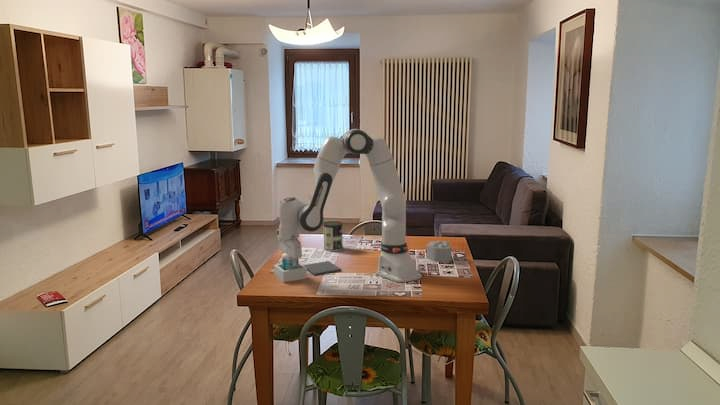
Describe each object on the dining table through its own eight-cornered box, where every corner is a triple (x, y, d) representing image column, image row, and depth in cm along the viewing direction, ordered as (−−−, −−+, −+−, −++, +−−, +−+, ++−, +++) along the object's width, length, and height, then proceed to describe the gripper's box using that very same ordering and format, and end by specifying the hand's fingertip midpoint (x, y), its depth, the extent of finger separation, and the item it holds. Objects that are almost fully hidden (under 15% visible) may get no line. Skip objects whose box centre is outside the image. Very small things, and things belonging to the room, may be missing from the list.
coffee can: (343, 246, 304) (342, 221, 301) (342, 251, 294) (342, 225, 291) (324, 246, 304) (323, 221, 302) (322, 251, 294) (322, 225, 291)
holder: (307, 278, 253) (306, 267, 252) (283, 282, 248) (283, 271, 247) (297, 271, 263) (297, 261, 262) (274, 275, 257) (274, 264, 256)
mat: (341, 270, 263) (341, 268, 263) (314, 275, 257) (314, 273, 256) (328, 262, 275) (328, 260, 275) (302, 267, 269) (302, 265, 268)
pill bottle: (285, 280, 250) (284, 251, 248) (280, 275, 257) (279, 247, 254) (301, 277, 254) (300, 249, 251) (295, 273, 260) (294, 245, 257)
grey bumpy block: (440, 254, 289) (440, 238, 287) (456, 260, 278) (457, 243, 276) (424, 257, 284) (424, 240, 282) (440, 263, 273) (440, 246, 271)
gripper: (304, 237, 244) (305, 268, 246) (287, 227, 261) (288, 256, 264) (291, 239, 241) (292, 270, 243) (274, 229, 258) (276, 258, 261)
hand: (290, 262), depth 254 cm, fingers closed on pill bottle, 7 cm apart
